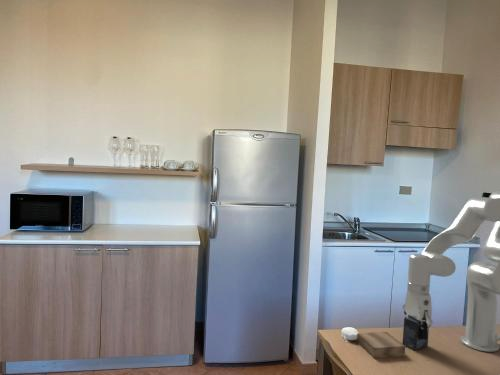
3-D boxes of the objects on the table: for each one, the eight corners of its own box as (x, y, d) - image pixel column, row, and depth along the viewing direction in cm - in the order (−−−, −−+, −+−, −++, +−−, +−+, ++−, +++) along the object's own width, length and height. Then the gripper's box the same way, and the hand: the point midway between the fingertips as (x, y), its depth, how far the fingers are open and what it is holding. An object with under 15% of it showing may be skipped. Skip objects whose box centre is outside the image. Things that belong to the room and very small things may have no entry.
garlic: (363, 343, 143) (364, 333, 143) (346, 343, 142) (347, 333, 142) (354, 334, 151) (355, 324, 151) (338, 334, 150) (338, 325, 150)
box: (415, 351, 137) (417, 322, 137) (402, 344, 142) (403, 317, 142) (428, 346, 142) (429, 318, 141) (414, 340, 146) (416, 313, 146)
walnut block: (386, 342, 145) (386, 331, 145) (404, 357, 133) (405, 346, 133) (357, 343, 143) (357, 333, 143) (373, 359, 131) (374, 347, 131)
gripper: (443, 295, 133) (440, 344, 134) (413, 280, 150) (410, 324, 151) (424, 295, 132) (421, 345, 132) (396, 281, 149) (393, 325, 150)
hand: (415, 334), depth 142 cm, fingers closed on box, 7 cm apart
